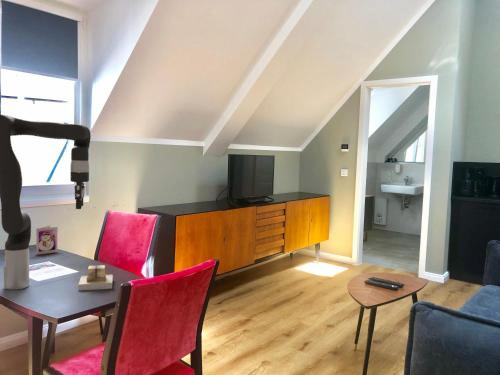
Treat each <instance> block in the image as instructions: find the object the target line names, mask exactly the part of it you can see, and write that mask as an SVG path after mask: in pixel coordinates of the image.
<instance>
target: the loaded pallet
mask: <svg viewBox="0 0 500 375" xmlns="http://www.w3.org/2000/svg"><path fill="white" fill-rule="evenodd" d="M106 275H107V273H106V265H105V264H100V265H99V264H97V265H88V268H87V275H86V276H87V282H97V281H106Z"/></svg>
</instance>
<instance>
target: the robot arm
mask: <svg viewBox="0 0 500 375" xmlns="http://www.w3.org/2000/svg"><path fill="white" fill-rule="evenodd" d="M13 136H34V137H38V138H44V139H51V140H52V139H53V140H66V141H67V140H69V141H73V142H74V143H73V147H72V148H71V150H70V151H71V152H70V154H71V155H70V158H71V159H70V160H71V161H70V168H69V169H70V175H69V176H70V182H72V183H75V185H74V200H75V209H76V210H81V209H82V207H84V198H85V194H86V193H85V191H86V186H85V183H88V182H90V164H89V163H90V162H89V151H90V150H89V148H90V144H91V131H90V128H89V127H87V126H86V125H82V124H79V123H78V124H75V123H61V122H54V121H33V120H25V119H22V118H17V117H13V116H11V115H8V114H3V113H0V205H1V206H0V210H1V212H0V214H1V219H0V220H1V227H2V229H3V231H4V232H5V233H6V234H8V236H7V239H6V240H5V243H4V265H5V266H4V267H3V289H4V290H12V291H13V290H20V289H25V288H27V287H28V288H29V287H30V242H31V236H32V219H31V216H30V215H29V214H28V213H27V212H25V211H22V209H21V203H20V202H21V201H20V200H21V195H22V194H21V193H22V187H23V174H22V167H21V165H20V162H19V160H18V158H17V156H16V154H15V152H14V150H13V146H12V141H11V140H12V139H11V137H13Z"/></svg>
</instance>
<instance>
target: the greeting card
mask: <svg viewBox="0 0 500 375" xmlns="http://www.w3.org/2000/svg"><path fill="white" fill-rule="evenodd" d="M35 230H36V231H35V232H36V237H35V238H36V239H35V240H36V244H35V245H36V247H35V248H36V255H44V254H51V253H52V254H53V253H58V226H54V227H51V225H46V226H42V227H38V228H36V229H35Z"/></svg>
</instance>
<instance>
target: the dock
mask: <svg viewBox="0 0 500 375" xmlns="http://www.w3.org/2000/svg"><path fill="white" fill-rule="evenodd" d="M113 279H114V275H113V274H106V281H97V282H87V275H81V276H80V279H79V282H78V283H77V286H78V291H91V290H109V289H113V282H114V281H113Z"/></svg>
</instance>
